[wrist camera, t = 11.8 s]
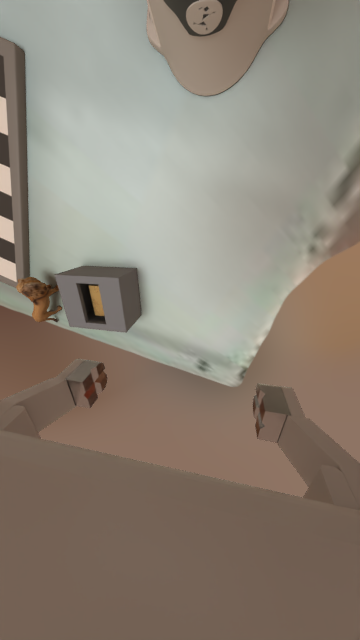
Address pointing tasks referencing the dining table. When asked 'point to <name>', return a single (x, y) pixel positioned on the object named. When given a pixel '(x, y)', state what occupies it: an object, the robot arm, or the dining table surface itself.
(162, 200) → the dining table surface
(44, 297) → the lion figurine
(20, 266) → the chess set
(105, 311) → the money box
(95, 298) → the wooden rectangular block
